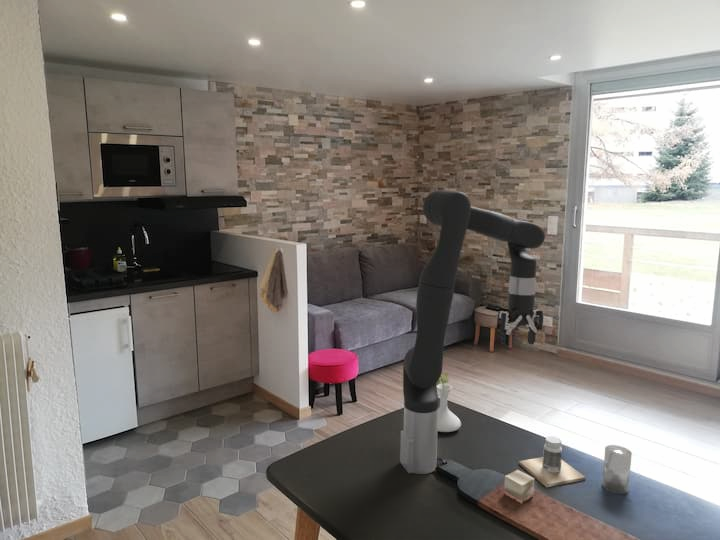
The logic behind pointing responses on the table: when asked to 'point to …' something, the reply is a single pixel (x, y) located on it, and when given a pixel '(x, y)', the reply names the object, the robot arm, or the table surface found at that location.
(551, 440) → the pill bottle
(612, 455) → the tin can
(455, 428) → the flower in vase
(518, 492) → the ash block
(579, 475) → the oak mat
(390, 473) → the table surface
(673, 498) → the table surface
